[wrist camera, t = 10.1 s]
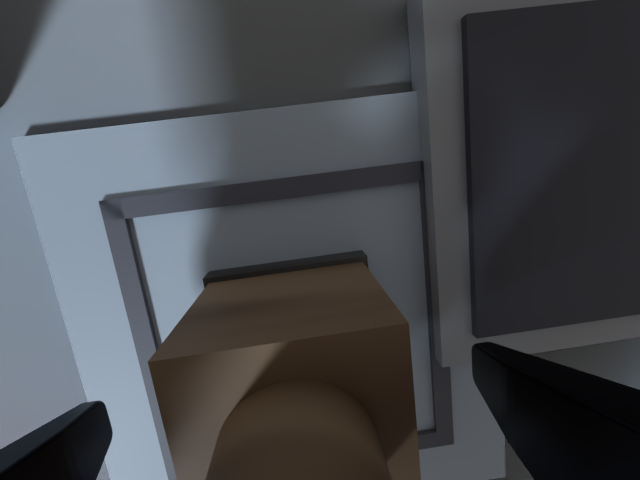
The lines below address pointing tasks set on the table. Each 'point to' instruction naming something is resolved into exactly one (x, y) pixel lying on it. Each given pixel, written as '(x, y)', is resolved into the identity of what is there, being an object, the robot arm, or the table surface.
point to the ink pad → (529, 170)
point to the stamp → (290, 376)
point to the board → (239, 249)
